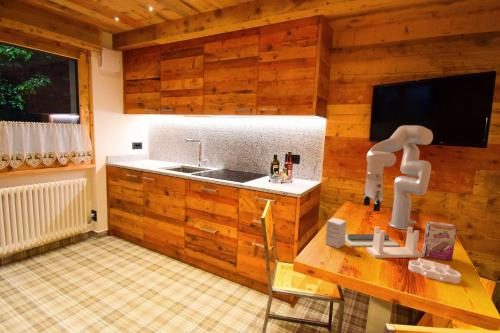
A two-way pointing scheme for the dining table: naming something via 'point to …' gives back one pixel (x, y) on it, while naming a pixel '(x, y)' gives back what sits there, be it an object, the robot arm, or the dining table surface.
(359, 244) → the mat
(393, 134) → the robot arm
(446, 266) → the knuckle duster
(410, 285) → the dining table surface
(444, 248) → the candy bar box
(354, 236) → the rail
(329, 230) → the supplement box
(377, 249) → the hook rack
